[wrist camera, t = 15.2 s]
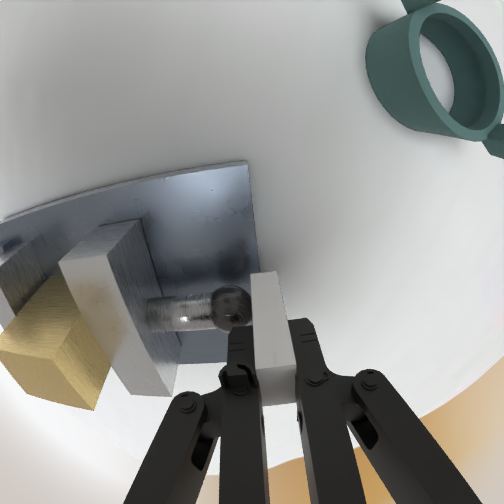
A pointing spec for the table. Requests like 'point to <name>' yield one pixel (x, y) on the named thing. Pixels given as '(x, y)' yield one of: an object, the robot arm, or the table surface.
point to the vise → (157, 239)
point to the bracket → (418, 87)
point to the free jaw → (141, 307)
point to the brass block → (54, 349)
